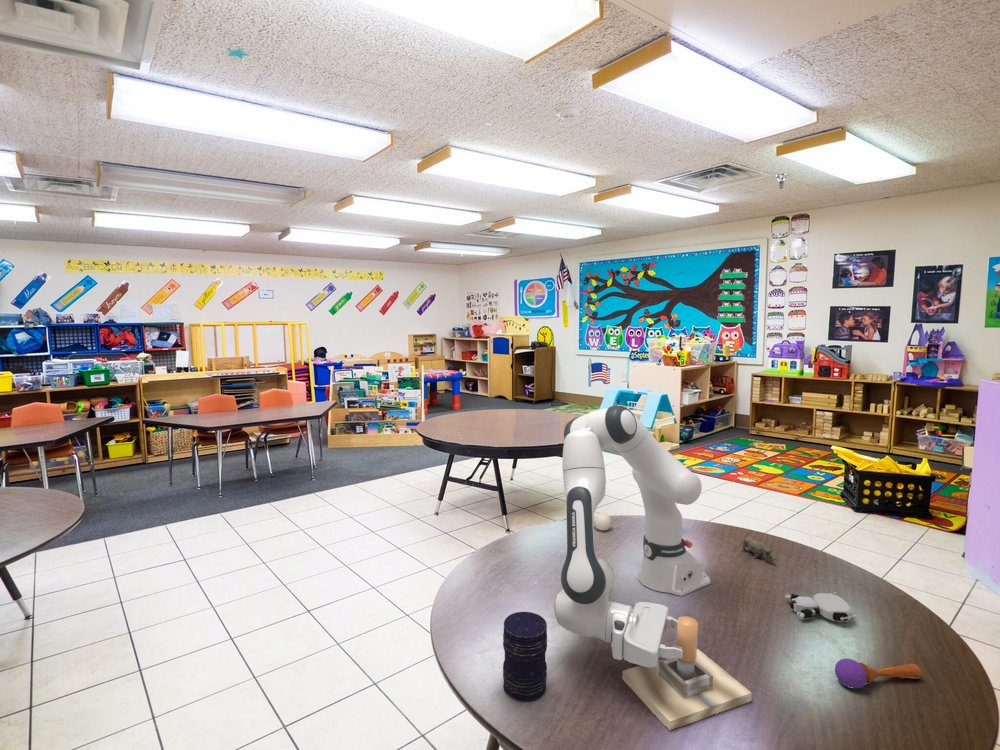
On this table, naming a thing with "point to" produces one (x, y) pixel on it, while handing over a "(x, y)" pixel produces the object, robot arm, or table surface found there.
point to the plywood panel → (685, 690)
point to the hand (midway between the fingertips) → (685, 640)
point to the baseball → (602, 521)
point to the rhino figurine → (757, 549)
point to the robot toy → (821, 606)
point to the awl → (687, 646)
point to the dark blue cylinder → (525, 656)
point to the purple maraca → (870, 672)
